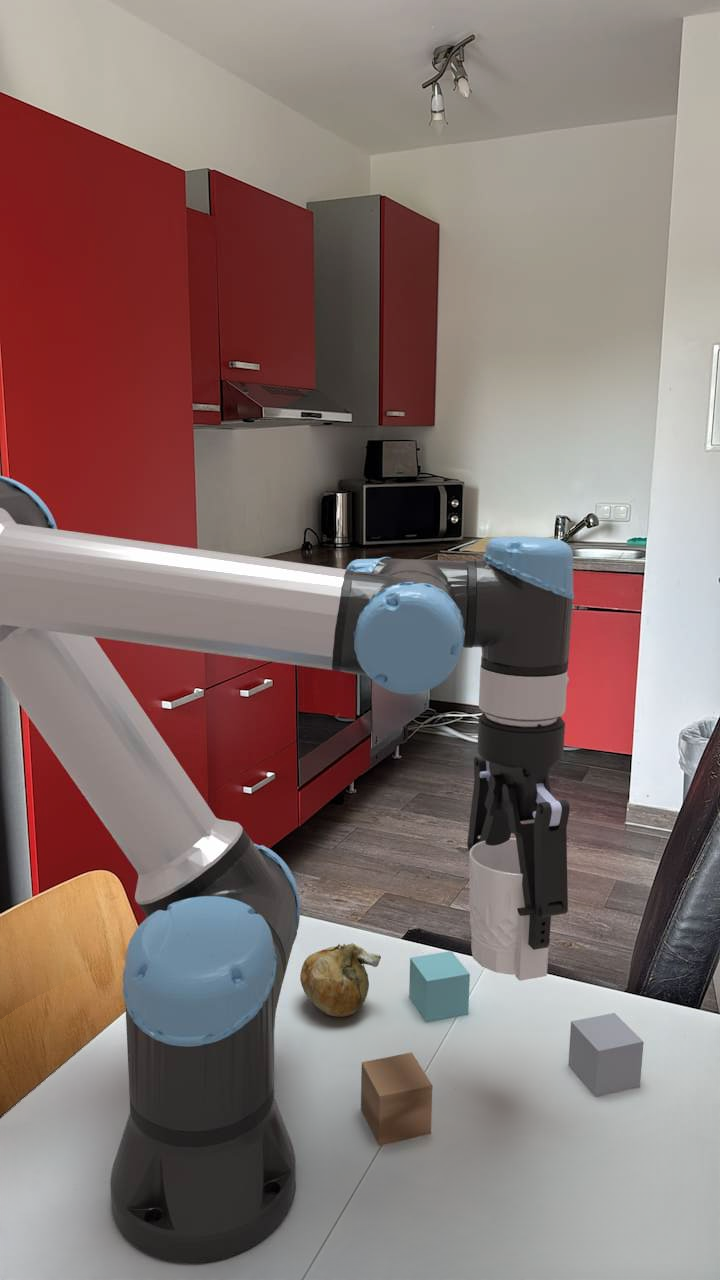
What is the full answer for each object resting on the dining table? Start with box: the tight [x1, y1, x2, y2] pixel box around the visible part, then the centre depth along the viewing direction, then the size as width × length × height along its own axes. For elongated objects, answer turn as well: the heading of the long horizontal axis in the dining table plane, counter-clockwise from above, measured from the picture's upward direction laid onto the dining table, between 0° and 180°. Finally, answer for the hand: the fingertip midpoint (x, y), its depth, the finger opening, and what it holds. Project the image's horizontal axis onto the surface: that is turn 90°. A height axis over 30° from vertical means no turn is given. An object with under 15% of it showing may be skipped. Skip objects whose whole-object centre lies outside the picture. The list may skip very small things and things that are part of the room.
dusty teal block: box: [408, 950, 471, 1023], centre depth 106 cm, size 5×5×5 cm
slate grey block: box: [568, 1012, 645, 1098], centre depth 94 cm, size 5×5×5 cm
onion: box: [299, 942, 382, 1018], centre depth 105 cm, size 8×8×8 cm
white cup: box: [468, 837, 525, 976], centre depth 87 cm, size 8×8×10 cm
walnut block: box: [360, 1052, 433, 1146], centre depth 87 cm, size 5×5×5 cm
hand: (509, 952), depth 88 cm, fingers closed on white cup, 8 cm apart
